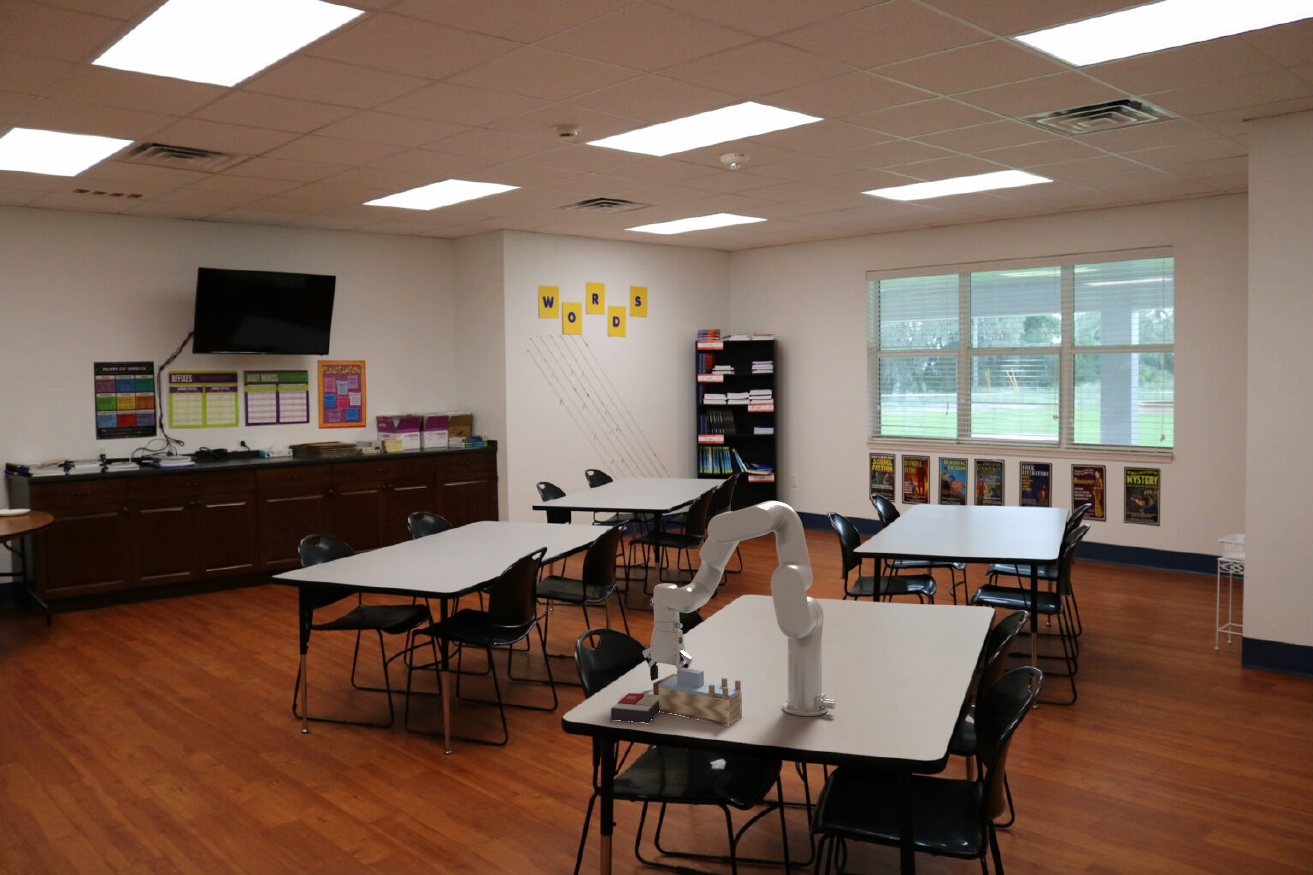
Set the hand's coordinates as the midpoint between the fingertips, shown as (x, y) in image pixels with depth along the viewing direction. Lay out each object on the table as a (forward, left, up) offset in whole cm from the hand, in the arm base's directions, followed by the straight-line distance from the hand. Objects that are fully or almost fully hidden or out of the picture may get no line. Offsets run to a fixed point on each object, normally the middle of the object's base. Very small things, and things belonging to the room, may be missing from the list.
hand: (667, 681), depth 278 cm
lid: (-19, +13, +4) cm, 23 cm away
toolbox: (-19, +13, -3) cm, 23 cm away
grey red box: (-3, +21, -3) cm, 21 cm away
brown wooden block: (0, 0, -3) cm, 3 cm away
